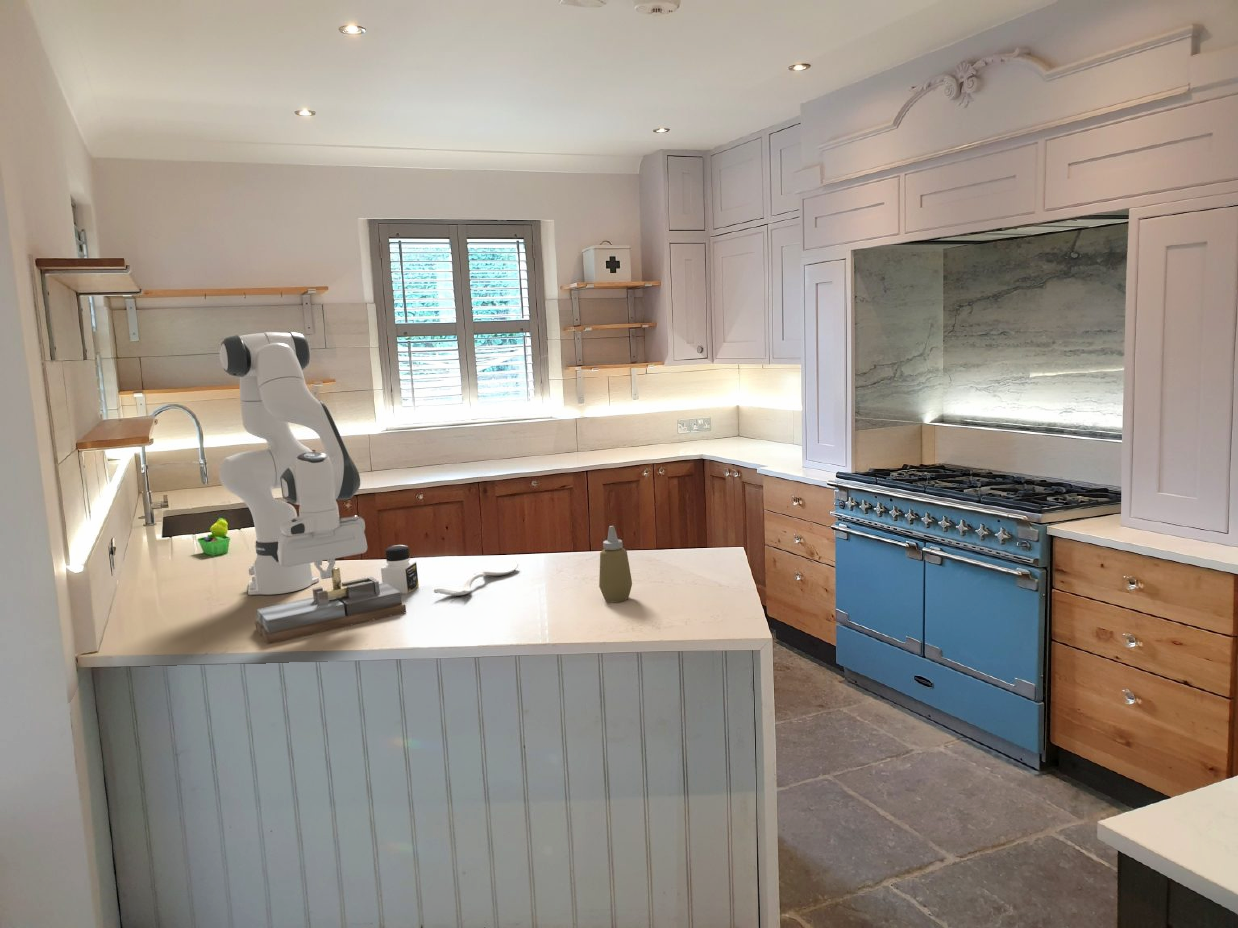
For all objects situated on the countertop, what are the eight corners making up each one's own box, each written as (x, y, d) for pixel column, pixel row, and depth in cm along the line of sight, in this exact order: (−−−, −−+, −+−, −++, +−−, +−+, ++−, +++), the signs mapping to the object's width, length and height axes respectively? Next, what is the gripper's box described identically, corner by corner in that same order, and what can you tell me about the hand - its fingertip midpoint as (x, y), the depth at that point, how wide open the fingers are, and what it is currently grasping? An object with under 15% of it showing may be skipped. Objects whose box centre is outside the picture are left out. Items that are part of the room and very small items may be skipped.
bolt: (324, 598, 215) (321, 570, 214) (365, 589, 220) (362, 562, 219) (326, 600, 213) (323, 571, 212) (368, 591, 218) (365, 563, 217)
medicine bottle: (408, 594, 234) (403, 549, 233) (383, 594, 235) (378, 550, 234) (419, 586, 241) (414, 542, 239) (394, 586, 242) (389, 543, 241)
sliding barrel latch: (256, 628, 212) (252, 596, 211) (387, 600, 229) (384, 570, 228) (268, 643, 201) (264, 609, 200) (406, 612, 218) (402, 580, 216)
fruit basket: (198, 553, 305) (193, 520, 303) (224, 547, 311) (220, 515, 309) (209, 557, 296) (205, 524, 295) (236, 551, 302) (232, 519, 301)
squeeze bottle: (611, 606, 211) (606, 531, 209) (593, 599, 218) (588, 526, 215) (639, 599, 215) (634, 525, 213) (621, 592, 222) (617, 521, 220)
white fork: (433, 601, 226) (432, 588, 226) (496, 568, 256) (495, 556, 255) (464, 603, 223) (462, 589, 223) (524, 569, 252) (523, 557, 252)
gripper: (360, 512, 220) (365, 567, 222) (272, 526, 209) (279, 583, 211) (367, 515, 214) (373, 572, 216) (278, 530, 204) (285, 589, 206)
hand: (326, 577), depth 214 cm, fingers closed
